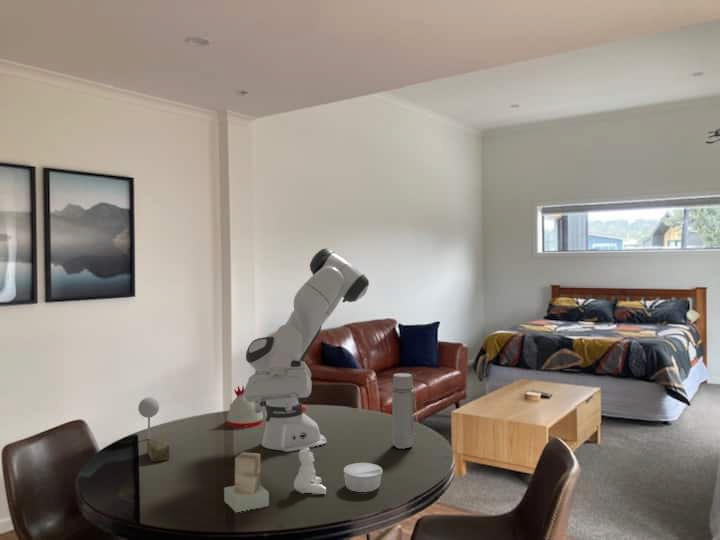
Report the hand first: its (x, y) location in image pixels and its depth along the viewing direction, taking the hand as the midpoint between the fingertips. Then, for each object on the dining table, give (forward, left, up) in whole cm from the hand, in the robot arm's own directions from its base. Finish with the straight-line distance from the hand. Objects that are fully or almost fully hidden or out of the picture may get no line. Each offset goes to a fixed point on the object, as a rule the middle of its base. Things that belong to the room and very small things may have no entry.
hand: (272, 410), depth 169 cm
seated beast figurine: (-9, +5, -22) cm, 25 cm away
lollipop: (+33, -61, -22) cm, 72 cm away
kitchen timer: (-3, -71, -22) cm, 74 cm away
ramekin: (-24, +8, -22) cm, 34 cm away
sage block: (+9, +8, -22) cm, 25 cm away
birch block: (+8, +9, -18) cm, 22 cm away
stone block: (+30, -39, -22) cm, 54 cm away
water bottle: (-50, -21, -22) cm, 59 cm away
